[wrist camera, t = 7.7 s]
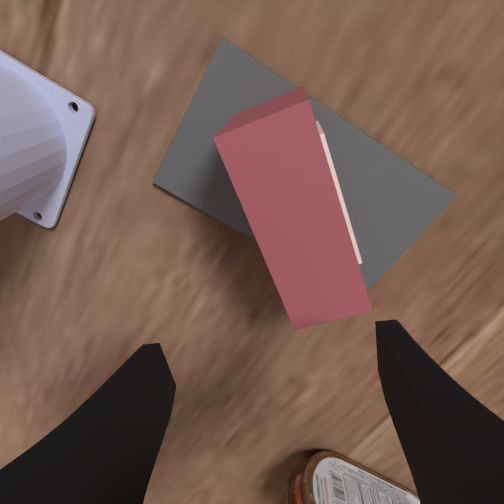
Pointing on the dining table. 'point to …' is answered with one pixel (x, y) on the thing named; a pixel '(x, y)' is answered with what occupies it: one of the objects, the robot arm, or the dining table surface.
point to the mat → (341, 150)
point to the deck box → (295, 208)
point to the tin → (342, 483)
